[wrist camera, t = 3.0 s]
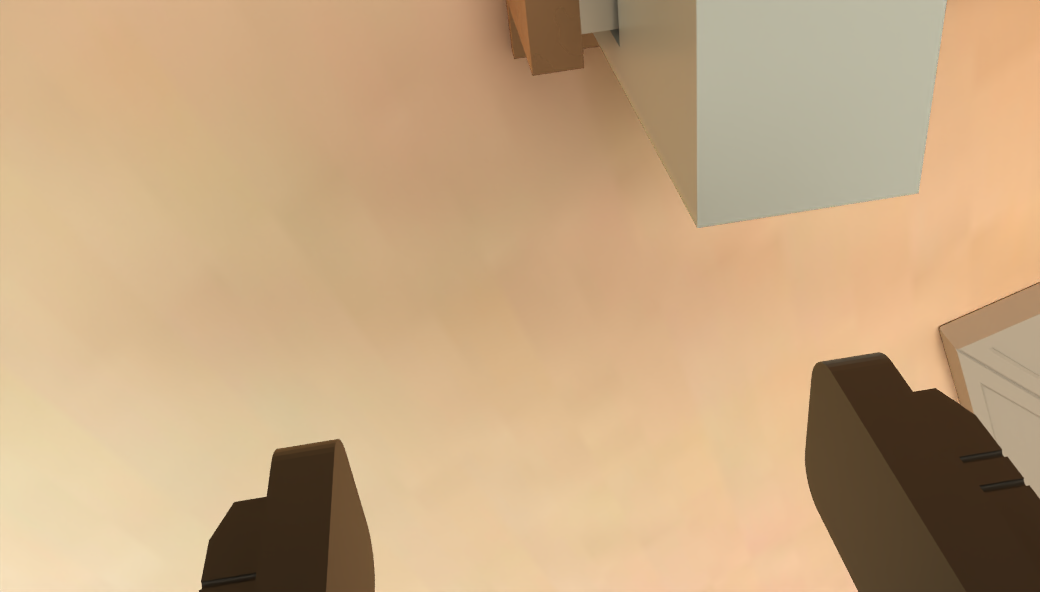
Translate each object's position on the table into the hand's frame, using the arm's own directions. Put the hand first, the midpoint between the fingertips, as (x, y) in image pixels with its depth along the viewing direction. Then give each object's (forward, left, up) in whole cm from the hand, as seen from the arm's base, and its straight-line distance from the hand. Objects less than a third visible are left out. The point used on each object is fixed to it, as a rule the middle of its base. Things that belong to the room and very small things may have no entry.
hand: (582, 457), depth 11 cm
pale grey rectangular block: (+7, 0, -23) cm, 24 cm away
